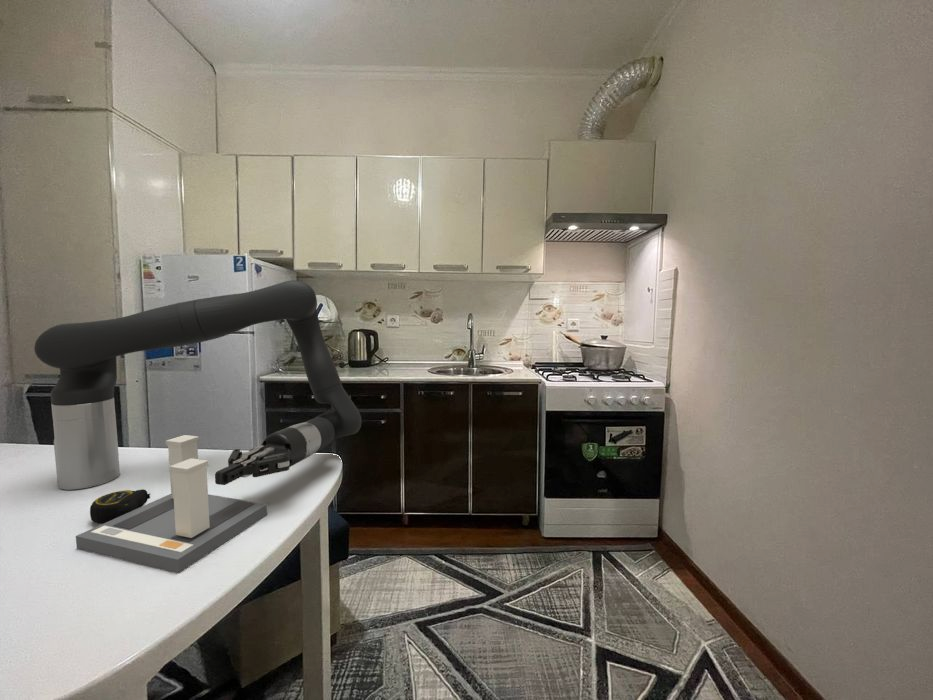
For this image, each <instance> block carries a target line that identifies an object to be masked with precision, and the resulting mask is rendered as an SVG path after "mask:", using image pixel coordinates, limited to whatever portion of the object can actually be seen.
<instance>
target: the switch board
mask: <svg viewBox="0 0 933 700" xmlns="http://www.w3.org/2000/svg"><path fill="white" fill-rule="evenodd" d="M208 505H209V523H210V527H209V528H208V529H206V530H204V531H203V532H201V533H199V534H197V535H196V536H194V537H192V538H189V537H184V536H179V535H176V528H175V512H174V499H173V498H171V493H168V494H167V495H165V496H163V497H160V498H158V499H156V500H155V499H154V500H153V501H152V502H150V503H147V504H144V505H143V506H142V507H140V508H138V509H135V510H133V511H131V512H129V513H126V514H124V515H122V516H120V517H117V518H115V519H113V520H111V521H108V522H106V523H104V524H99V525H97V526H95V527H92V528H91V529H89V530H86V531H84V532H82V533H80V534H77V535H75V543H76V549H77V550H81V551H85V552H89V553H94V554H98V555H101V556H102V555H103V556H106V557H109V558H113V559H118V560H122V561H126V562H131V563H134V564H139V565H142V566H146V567H151V568H154V569H159V570H163V571H167V572H171V573H176V574H180V573H181V572H184V570H186V569H187V568H189V567H191V566H192V565H193V564H195V563H197V562H198V561H199V560H200V561H201V559H202V558H204V557H206V556H207V555H208V554H210V553H211V552H213V551H215V550H216V549H218V548H219V547H221V546H222V545H223V544H226V543H228V541H230V540H232V539H233V538H235V537H236V536H237V535H239V534H241V533H243V532H244V531H245V530H246V529H248V528H250V527H252V526H253V525H255V524H256V523H257V522H259V521H260V520H262V519H264V518H265V517H267V516H268V504H267V503H261V502H257V501H249V500H246V499H237V498H232V497H226V496H219V495H215V494H209V493H208Z"/></svg>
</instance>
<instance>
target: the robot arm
mask: <svg viewBox="0 0 933 700" xmlns="http://www.w3.org/2000/svg"><path fill="white" fill-rule="evenodd" d="M317 299H318V298H317V295H316V291H315V290H314V289H313V288H312V287H311V286H310V285H309V284H308V283H306V282H304V281H301V280H294V279H293V280H292V279H291V280H287V281H286V280H285V281H283V282H280V283H276V284H273V285H269V286H267V287H263V288H259V289H255V290H252V291H251V290H250V291H247V292H241V293H234V294H232V293H231V294H225V295H218V296H217V295H216V296H211V297H204V298H197V299H192V300H186V301H182V302H176V303H172V304H169V305H164V306H159V307H155V308H151V309H148V310H144V311H141V312H137V313H134V314H130V315H129V314H128V315H126V316H122V317H117V318H111V319H103V320H97V321H88V322H87V321H85V322H73V323H72V322H70V323H60V324H56V325H54V326H52V327H50V328H48V329H46V330H44V331H43V332H42V333H41V334H40V335H38V337H37V339H36V341H35V343H34V353H35V356H36V357H37V358H38V360H40V361H41V362H42V363H43V364H45V365H47V366H49V367H52V368H56V369H59V379H58V380H57V382H56V384H55V386H54V387H53V388H52V390H51V391H50V403H51V415H52V422H53V423H52V424H53V425H52V426H53V435H54V437H53V438H54V439H53V447H54V449H53V450H54V460H55V470H56V481H57V484H58V489H59V488H60V489H61V490H66V491H67V490H68V491H70V490H79V489H80V490H81V489H86V488H87V489H88V488H92V487H96V486H99V485H102V484H105V483H108V482H111V481H113V480H115V479H117V478H119V476H120V475H121V473H120V472H121V470H120V469H121V468H120V457H119V455H120V454H119V443H118V431H117V419H116V418H117V417H116V408H115V407H116V406H115V387H116V384H117V382H118V381H117V380H118V379H117V378H118V373H117V370H118V368H117V365H118V364H117V357H120V356H123V355H128V354H133V353H138V352H143V351H152V350H153V351H154V350H161V349H170V348H177V347H183V346H188V345H194V344H199V343H203V342H207V341H208V342H209V341H211V340H215V339H219V338H221V337H225V336H229V335H230V334H234V333H236V332H239V331H241V330H243V329H246V328H248V327H250V326H251V327H252V326H254V325H258V324H262V323H268V322H269V323H270V322H274V321H275V322H276V321H283V320H285V321H286V323H287V324H288V326H289V328H290V329H291V331H292V334H293V336H294V338H295V340H296V343H297V346H298V349H299V353H300V355H301V361H302V364H303V368H304V371H305V374H306V379H307V381H308V383H309V387H310V389H311V392H312V394H313V398H314V399H315V402H316V403H318V404H328V405H330V406H332V408H333V410H330V411H327V412H323V413H321V414H319V415H317V416H315V417H314V418H311V419H309V420H306V421H304V422H300V423H297V424H292V425H289V426H288V427H285V428H283V429H280V430H278V431H275V432H273V433H270V434H268V435H267V436H266V437H265V438H264V440H263V441H262V443H261V445H257V446H255V447H252V448H251V449H249V451H248V452H247V451H246V452H243V451H242V450H241V449H240V448H236V449H233V450H232V451H231V453H230V455H229V457H228V459H227V466H225V467H223V468H221V469H219V470H217V471H215V473H214V482H215V485H219V486H226V485H228V484H230V483H232V482H233V481H236V480H237V479H240V478H248V477H250V476H252V478H259V477H264V476H267V475H272V474H277V473H281V472H286V471H290V468H291V467H292V466H295V465H296V464H298V463H301V462H302V461H304V460H306V459H307V458H310V456H312V455H314V453H317V452H318V451H320V450H322V449H324V448H326V447H327V446H328V445H330V444H331V443H332V441H333V440H337V439H340V438H343V437H348V436H351V435H355V434H357V433H359V431H360V429H361V427H362V416H361V413H360V411H359V409H358V407H357V406H356V405H355V402H354V401H352V398H351V397H350V396H349V394H348V393H347V391H346V390H345V389H344V387H343V383H342V381H341V377H340V375H339V372H338V370H337V367H336V364H335V363H334V360H333V358H332V357H333V356H332V354H331V353H330V351H329V350H330V349H328V346H327V343H326V341H325V338H324V336H323V331H322V329H321V325H320V321H319V315H318V313H319V312H318V307H317V306H318V300H317Z"/></svg>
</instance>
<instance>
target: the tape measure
mask: <svg viewBox="0 0 933 700" xmlns="http://www.w3.org/2000/svg"><path fill="white" fill-rule="evenodd" d="M149 499H151V493H148V491H147V490H146V489H143V488H142V489H137V490H129V489H126V490H118V491H114V492H110V493H107V494H104V495H101V496H100V497H98V498H95V500H93V501H92V503H91V505H90V507H89V515H90V517H89V518H90V520H91V522H93V523H94V524H99V525H102V524H104V523H106V522H108V521H111V520H113V519H115V518H117V517H120V516H122V515H124V514H126V513H129V512H131V511H133V510H135V509H138V508H140V507H142V506H144V505H146V503H147V502H148V500H149Z"/></svg>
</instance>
